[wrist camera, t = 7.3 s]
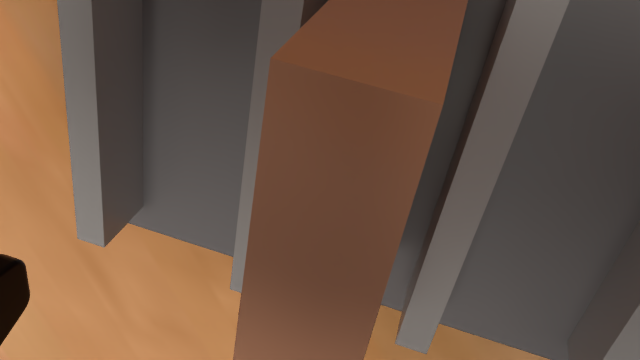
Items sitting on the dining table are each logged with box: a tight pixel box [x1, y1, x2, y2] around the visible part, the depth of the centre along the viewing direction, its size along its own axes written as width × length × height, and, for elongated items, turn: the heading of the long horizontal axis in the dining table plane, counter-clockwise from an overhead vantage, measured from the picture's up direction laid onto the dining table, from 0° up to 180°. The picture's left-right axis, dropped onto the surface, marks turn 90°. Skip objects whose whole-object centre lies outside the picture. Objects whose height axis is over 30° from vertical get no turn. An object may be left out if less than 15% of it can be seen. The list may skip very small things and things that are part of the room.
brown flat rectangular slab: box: [233, 0, 468, 360], centre depth 14 cm, size 2×9×8 cm, turn 170°
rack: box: [57, 0, 640, 360], centre depth 17 cm, size 20×14×4 cm
